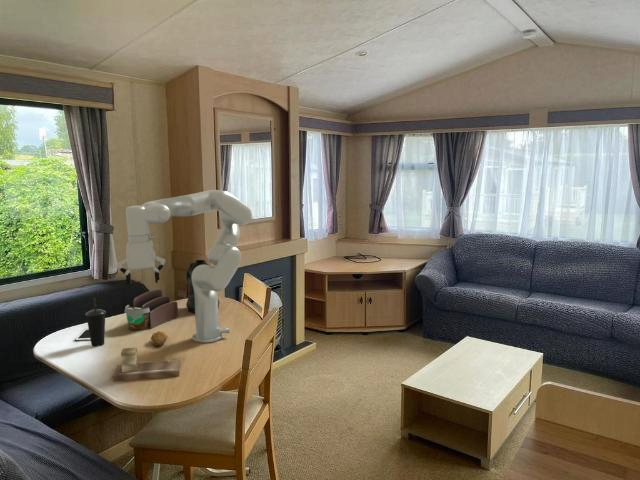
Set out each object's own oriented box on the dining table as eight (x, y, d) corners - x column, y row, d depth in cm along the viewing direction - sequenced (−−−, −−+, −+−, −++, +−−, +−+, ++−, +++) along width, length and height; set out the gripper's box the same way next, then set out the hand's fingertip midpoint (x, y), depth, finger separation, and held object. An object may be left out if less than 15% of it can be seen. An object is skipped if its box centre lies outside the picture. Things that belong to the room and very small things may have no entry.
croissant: (152, 337, 214) (151, 326, 213) (168, 336, 216) (168, 325, 215) (149, 349, 201) (149, 337, 200) (167, 347, 203) (166, 335, 202)
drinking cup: (95, 349, 201) (91, 301, 197) (83, 345, 205) (80, 298, 201) (112, 343, 207) (108, 296, 204) (100, 339, 211) (97, 293, 208)
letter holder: (133, 326, 229) (131, 296, 226) (161, 314, 247) (160, 286, 245) (151, 329, 225) (149, 299, 223) (178, 316, 243) (177, 288, 241)
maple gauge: (137, 366, 179) (136, 347, 178) (136, 371, 175) (134, 352, 174) (124, 367, 178) (122, 348, 177) (122, 372, 174) (120, 353, 173)
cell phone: (74, 342, 209) (73, 340, 209) (85, 330, 224) (85, 328, 224) (93, 341, 210) (93, 339, 210) (103, 329, 225) (103, 327, 225)
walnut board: (180, 364, 186) (180, 359, 185) (179, 375, 176) (179, 370, 176) (117, 370, 181) (117, 364, 180) (112, 381, 171) (112, 376, 171)
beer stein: (211, 315, 245) (209, 265, 241) (175, 312, 250) (172, 263, 246) (225, 305, 261) (223, 258, 257) (191, 303, 266) (189, 257, 262)
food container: (119, 329, 224) (118, 308, 222) (129, 325, 229) (127, 304, 228) (141, 333, 219) (140, 311, 218) (150, 328, 225) (149, 307, 223)
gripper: (163, 235, 192) (167, 278, 196) (115, 238, 188) (120, 282, 191) (163, 238, 185) (166, 283, 188) (113, 242, 181) (117, 288, 184)
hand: (143, 283), depth 190 cm, fingers open, 9 cm apart
